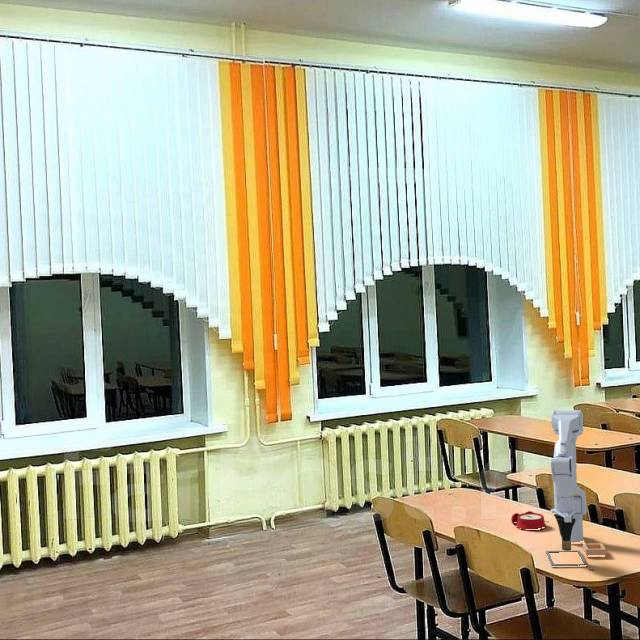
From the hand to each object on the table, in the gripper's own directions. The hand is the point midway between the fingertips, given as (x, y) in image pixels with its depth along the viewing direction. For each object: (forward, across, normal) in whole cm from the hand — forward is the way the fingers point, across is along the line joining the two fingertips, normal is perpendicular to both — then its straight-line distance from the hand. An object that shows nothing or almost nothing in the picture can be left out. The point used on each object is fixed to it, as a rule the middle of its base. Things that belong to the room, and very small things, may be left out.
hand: (565, 539), depth 264 cm
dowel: (+3, 0, 0) cm, 3 cm away
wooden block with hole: (+7, -6, +10) cm, 13 cm away
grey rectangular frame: (+7, -1, 0) cm, 7 cm away
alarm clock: (+8, -41, -7) cm, 42 cm away
